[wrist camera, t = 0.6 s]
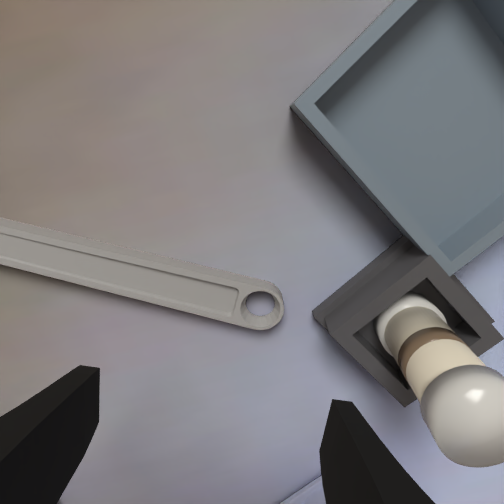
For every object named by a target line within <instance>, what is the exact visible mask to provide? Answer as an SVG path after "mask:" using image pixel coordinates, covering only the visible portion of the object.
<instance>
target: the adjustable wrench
mask: <svg viewBox="0 0 504 504" xmlns="http://www.w3.org/2000/svg"><path fill="white" fill-rule="evenodd" d="M0 264H2V265H6V266H10V267H13V268H17V269H21V270H25V271H29V272H33V273H37V274H41V275H44V276H48V277H52V278H56V279H60V280H64V281H68V282H72V283H76V284H79V285H83V286H87V287H91V288H95V289H99V290H103V291H107V292H111V293H114V294H118V295H122V296H126V297H130V298H134V299H138V300H142V301H146V302H149V303H153V304H157V305H161V306H165V307H169V308H173V309H177V310H181V311H184V312H188V313H192V314H196V315H200V316H204V317H208V318H212V319H216V320H219V321H223V322H227V323H231V324H235V325H239V326H243V327H247V328H251V329H255V330H265V329H269V328H271V327H273V326H275V325H276V324H277V323H278V322H279V321H280V320H281V318H282V316H283V312H284V304H283V298H282V294H281V292H280V290H279V289H278V288H277V287H276V286H275V285H274V284H273V283H270V282H268V281H265V280H261V279H256V278H252V277H248V276H244V275H240V274H236V273H231V272H227V271H223V270H219V269H215V268H210V267H206V266H202V265H198V264H194V263H190V262H185V261H181V260H177V259H173V258H169V257H164V256H160V255H156V254H152V253H148V252H143V251H139V250H135V249H131V248H127V247H123V246H118V245H114V244H110V243H106V242H102V241H97V240H93V239H89V238H85V237H81V236H76V235H72V234H68V233H64V232H60V231H56V230H51V229H47V228H43V227H39V226H35V225H30V224H26V223H22V222H18V221H14V220H9V219H5V218H1V217H0ZM256 291H266V292H268V293H270V294H271V295H272V296H273V298H274V301H275V306H274V309H273V311H272V312H271V313H269V314H267V315H263V316H256V315H254V314H251V313H250V312H249V311H248V310H247V308H246V299H247V297H248V296H249V295H250V294H251V293H252V292H256Z"/></svg>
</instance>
